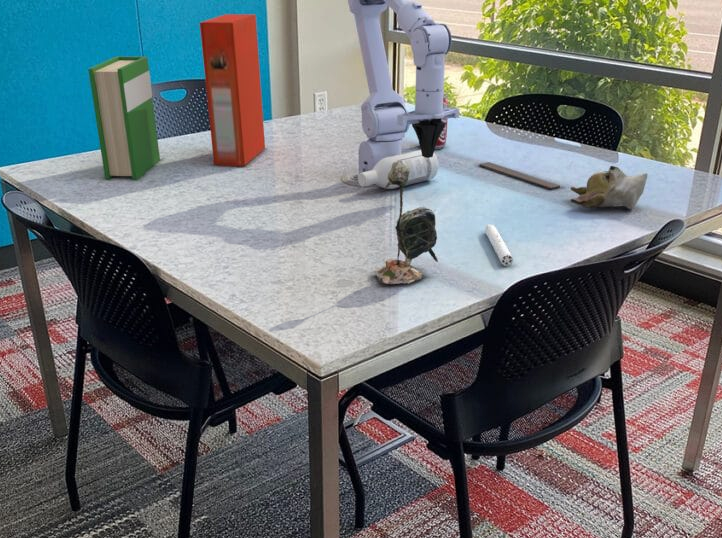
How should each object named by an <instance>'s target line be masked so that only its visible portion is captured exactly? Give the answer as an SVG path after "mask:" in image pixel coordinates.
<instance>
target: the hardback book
mask: <svg viewBox="0 0 722 538" xmlns="http://www.w3.org/2000/svg"><path fill="white" fill-rule="evenodd" d="M149 66H150V65H149V57H148V56H114V57H112V58H110V59H107V60H106V61H105V60H104V61H103V62H100V63H98V64H96V65H94V66H92V67H89V68H87V70H88V76H89V77H88V78H89V84H90V90H91V96H92V103H93V109H94V115H95V122H96V128H97V135H98V140H99V147H100V154H101V161H102V166H103V167H102V168H103V173H104V179H105V180H111V178H113V177H116V176H117V177H132V180H133V181H138V180H139V179H140V178H141V177H142V176H143V175H144V174H146V173H147V172H149V170H150V169H152V167H154V166H155V165H156V164H157V163H158V162H160V161H161V156H160V148H159V139H158V131H157V125H156V114H155V107H154V99H153V98H154V97H153V90H152V83H151V74H150V68H149Z"/></svg>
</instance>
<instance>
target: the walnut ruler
mask: <svg viewBox="0 0 722 538" xmlns="http://www.w3.org/2000/svg"><path fill="white" fill-rule="evenodd" d="M478 166H479V167H481V168H484V169H487V170H490V171H493V172H496V173H499V174H502V175H505V176H508V177H511V178H513V179H516V180H520V181H523V182H525V183H529V184H530V185H531V184H532V185H535V186H537V187H541V188H544V189H547V190H550V191H552V190H555V189H556V190H557V189H560V188H561V185H559V184H557V183H554V182H550V181H547V180H544V179H541V178H538V177H535V176H533V175H529V174H526V173H523V172H520V171H518V170H514V169H510V168H507V167H505V166H503V165H499V164H496V163H492V162H490V161H487V162H483V163H479V164H478Z"/></svg>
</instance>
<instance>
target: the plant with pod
mask: <svg viewBox="0 0 722 538" xmlns="http://www.w3.org/2000/svg"><path fill="white" fill-rule="evenodd" d="M409 172H410V169H409V167H408V166H406V165H403V164H402V163H400V162H394V163H393V165H392V168H391V171H390V172H389V174H388V180H389V182H388V183H387V186H386V188H388V187H389V185H391V184H393V185H398V186H400V187H399V188H398V189H399V216H398V218H397V220H396V224H395V227H394V228H395V233H396V239H397V244H396V245H397V257H396V259H386V260H385V263H384V264H385V266H382V267H380V268H377V269H376V270H374V271H373V273H375V276H377V277H375V278H376V279H378V283H380V284H385V285H396V284H399V285H400V284H408V285H410V284H411V283H413V282H416V281H417V280H421V279H423V278H425V277H427V275H424V274H423V273H422V272H420V270H419V268H417V267H415V266H413V265H412V261H413V259H416V258H418V257H419V256H421V255H422V254H424V253H429V255H430V256H431V257H432V259H433V261H435V262H436V263H438V262H439V259H438V257H437V256H436V253H435V251H434V250H433V248H434V247H435V246H436V245H437V240H438V235H437V229H436V214H435V213H434V212H436V211H437V210H436V209H434V210H432V209H430V208H428V207H425V206H420V207H417V208H414V209H411V210H407V211H406V212H403V209H404V207H403V204H404V203H403V195H404V187H405V186H404V185H405V184H406V182H407V181H408V176H409ZM400 251H401V253H402V254H403V255H404V257H405V259H404V260H401V259H399V258H400Z"/></svg>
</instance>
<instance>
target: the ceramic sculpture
mask: <svg viewBox="0 0 722 538" xmlns="http://www.w3.org/2000/svg"><path fill="white" fill-rule="evenodd" d="M647 179H648V173H647V172H645V173H640V174H635V175H633V176H632V175H631V176H630V175H627V174H626V173H625V172H624V171H623V170H622V169H621V168H619V167H618V166H615V165H610V166H609V168H608V170H598V171H596V172H594V173H593V174H591V175H590V176H589V177H588V179H587V182H586V186H581V187H575V186H570V190H571V191H572V192H574V193H576V194H577V195H579V196H577V197H576V198H572V199H571V198H570V200H569V201H570V202H571V203H572V204H575V205H577V206H578V205H579V206H580V207H583V208H594V207H597V208H610V207H614V206H625V207H626V208H627V209H628V210H631V209H633V208H634V207H635V206H636V205H637V203H638V202H639V200H640V198H641V196H642V195H643V194H644V192H645V191H644V190H645V186H646V184H647Z"/></svg>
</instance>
